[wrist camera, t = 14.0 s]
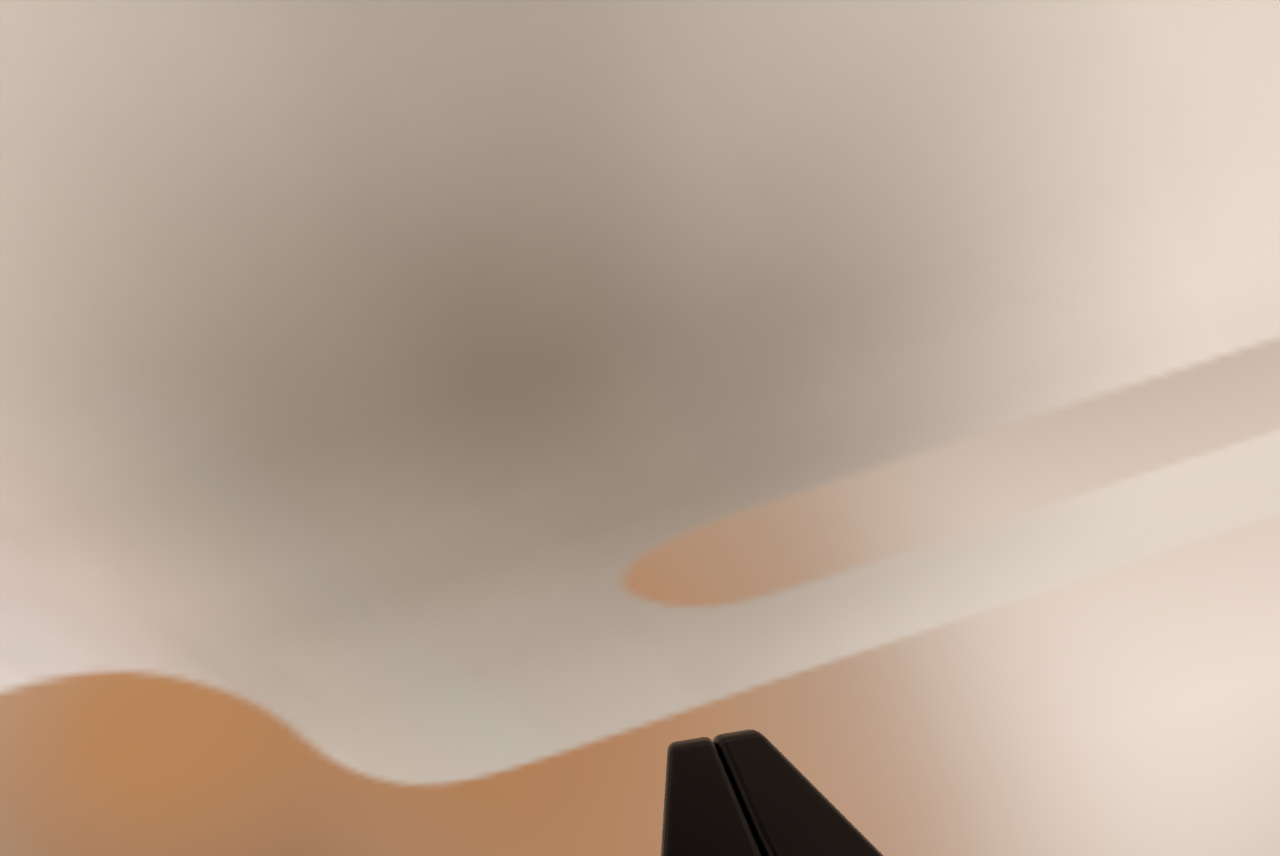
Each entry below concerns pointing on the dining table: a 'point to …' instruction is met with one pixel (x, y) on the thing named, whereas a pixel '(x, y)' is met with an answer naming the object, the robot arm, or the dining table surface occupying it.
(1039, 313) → the dining table surface
